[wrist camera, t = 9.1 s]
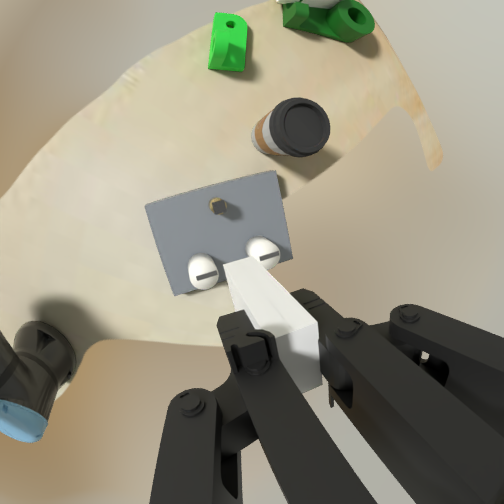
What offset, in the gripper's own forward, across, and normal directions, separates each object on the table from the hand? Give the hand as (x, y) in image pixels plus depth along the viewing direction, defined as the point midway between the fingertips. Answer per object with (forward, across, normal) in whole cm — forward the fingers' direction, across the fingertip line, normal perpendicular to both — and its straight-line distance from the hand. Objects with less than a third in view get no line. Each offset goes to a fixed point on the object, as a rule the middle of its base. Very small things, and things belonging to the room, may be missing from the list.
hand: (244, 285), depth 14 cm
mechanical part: (+35, +12, +28) cm, 47 cm away
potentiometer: (+32, +4, 0) cm, 32 cm away
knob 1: (+32, -1, -10) cm, 33 cm away
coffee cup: (+35, +15, +9) cm, 39 cm away
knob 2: (+32, +9, -9) cm, 34 cm away
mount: (+35, +4, -6) cm, 36 cm away
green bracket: (+35, +34, +34) cm, 59 cm away
